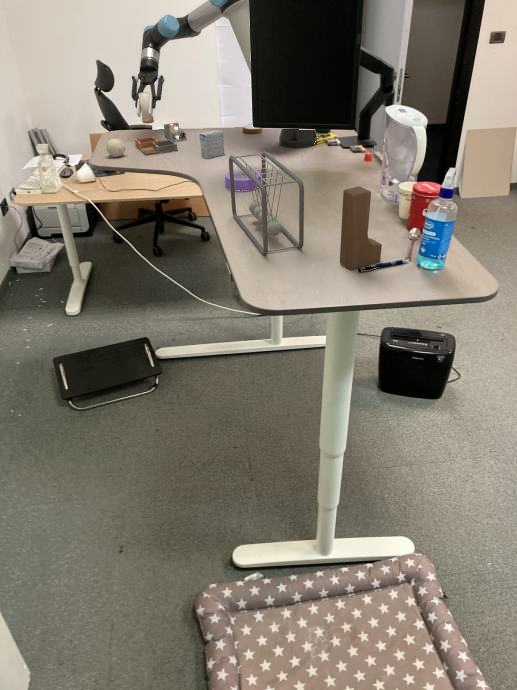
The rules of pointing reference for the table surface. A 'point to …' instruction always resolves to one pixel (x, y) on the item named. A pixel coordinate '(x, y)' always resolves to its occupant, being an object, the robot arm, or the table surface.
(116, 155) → the baseball
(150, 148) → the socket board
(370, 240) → the wooden block
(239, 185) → the masking tape
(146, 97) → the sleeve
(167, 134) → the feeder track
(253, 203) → the newton's cradle
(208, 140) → the medicine box
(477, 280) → the table surface
